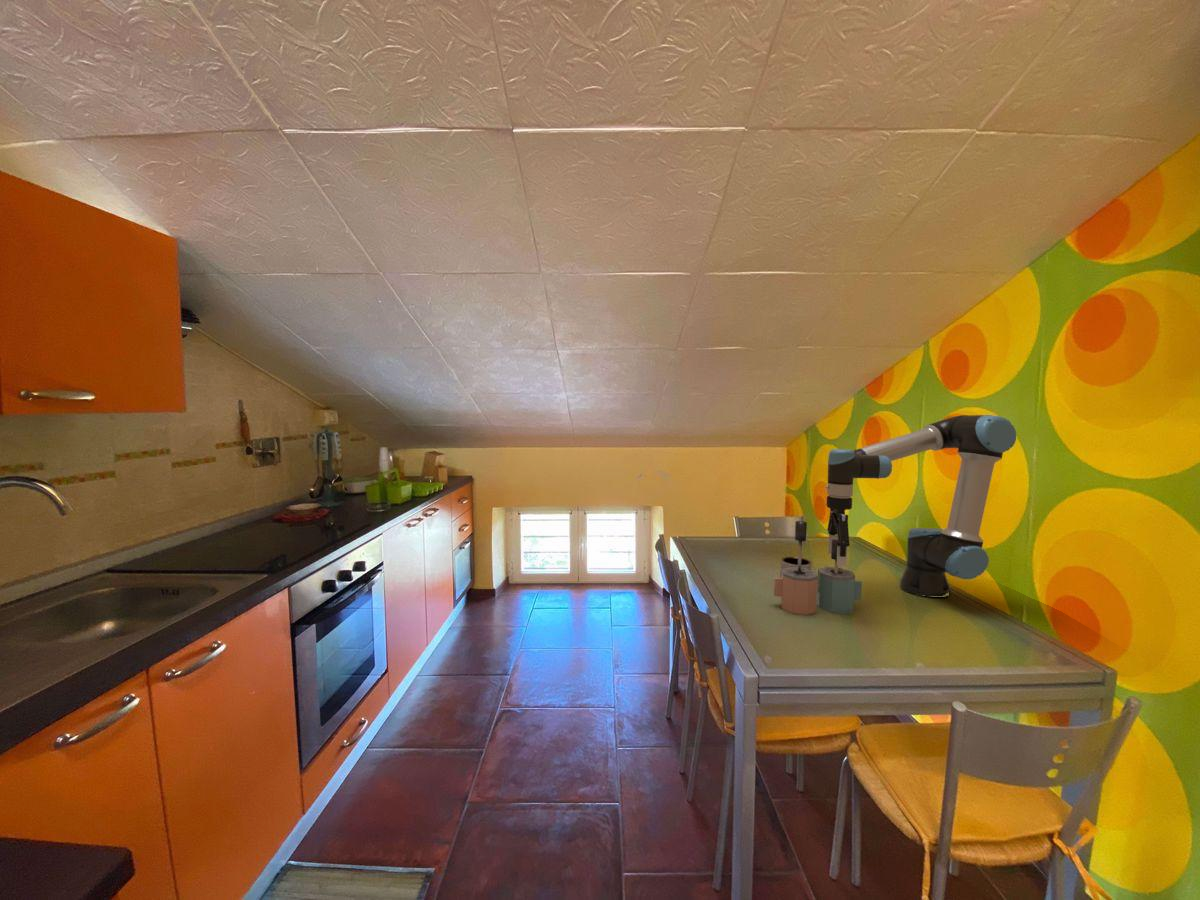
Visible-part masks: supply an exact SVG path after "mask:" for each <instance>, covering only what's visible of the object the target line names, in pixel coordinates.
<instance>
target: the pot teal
mask: <svg viewBox="0 0 1200 900" xmlns="http://www.w3.org/2000/svg"><path fill="white" fill-rule="evenodd" d="M862 585H863V584H862V581H861V580H858V579H856V575H855V573H854V572H853V571H852V570H849V569H846V568H843V567H838V574H835V566H823V567H819V568H817V601H816V605H817V606H818V608H819V609H821V610H824V611H826V612H828V613H833V614H841V615H842V614H843V615H847V614H850V613H853V612H854V609H855V608H854V607H855V606H854V605H855V600H858V601H862Z"/></svg>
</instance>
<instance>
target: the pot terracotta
mask: <svg viewBox="0 0 1200 900" xmlns="http://www.w3.org/2000/svg"><path fill="white" fill-rule="evenodd" d="M817 585H818V573H816V572H815V571H814V570H812V571H811V570H808V569H805V568H801V575H799V574H798V568H794V567H789V568H785V569H782V578H780V577H776V576H774V583H773V596H774V597H779V598H780V605H781V609H782V610H785V611H786V612H789V613H791V614H794V615H795V614H796V615H804V616H807V615H808V616H809V615H811V614H815V613H816V612H817Z"/></svg>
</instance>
